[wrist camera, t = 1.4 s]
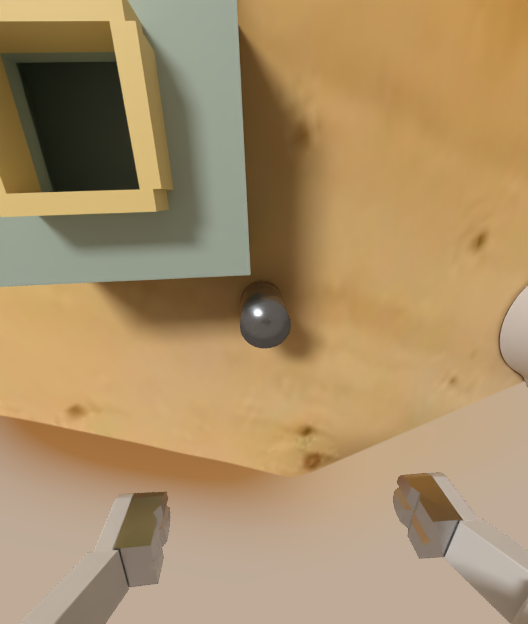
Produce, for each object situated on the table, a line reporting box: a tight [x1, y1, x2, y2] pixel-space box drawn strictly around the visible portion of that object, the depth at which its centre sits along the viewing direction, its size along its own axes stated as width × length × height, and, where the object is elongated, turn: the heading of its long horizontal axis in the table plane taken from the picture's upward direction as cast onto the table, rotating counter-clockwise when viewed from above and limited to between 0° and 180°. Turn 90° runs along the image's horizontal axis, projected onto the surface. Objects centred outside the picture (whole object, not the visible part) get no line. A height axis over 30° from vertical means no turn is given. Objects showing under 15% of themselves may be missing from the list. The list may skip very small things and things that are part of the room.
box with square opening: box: [0, 0, 251, 287], centre depth 17 cm, size 16×16×12 cm
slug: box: [240, 281, 291, 348], centre depth 25 cm, size 4×4×6 cm
